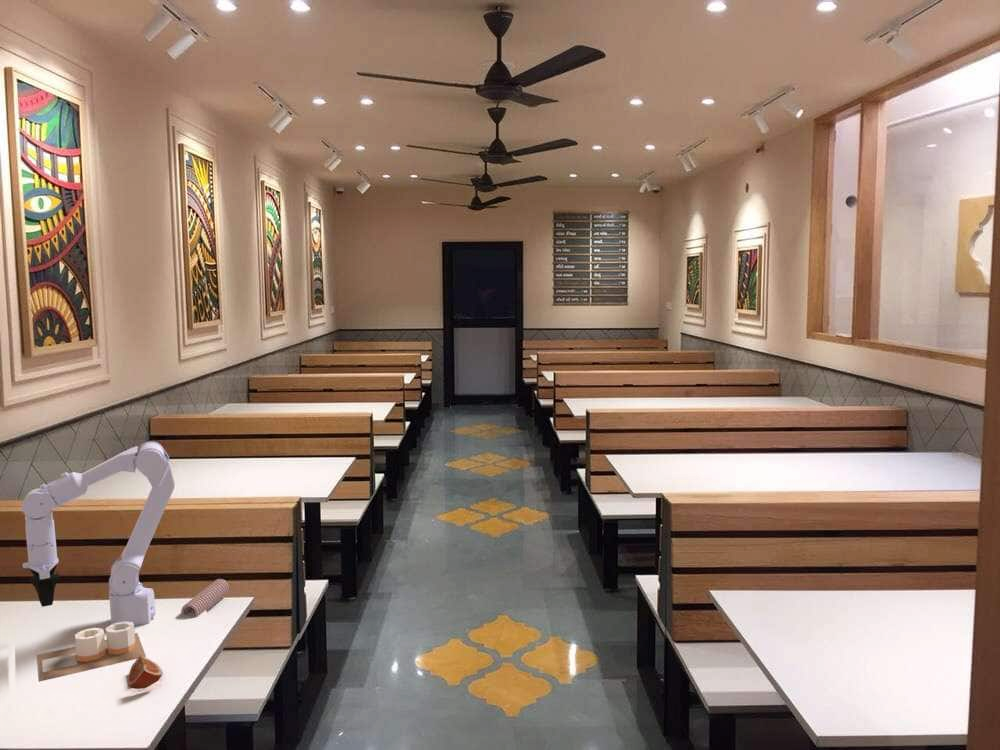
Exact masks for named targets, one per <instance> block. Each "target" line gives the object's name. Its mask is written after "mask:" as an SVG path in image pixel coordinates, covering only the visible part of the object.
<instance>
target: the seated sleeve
mask: <svg viewBox="0 0 1000 750" xmlns="http://www.w3.org/2000/svg"><path fill="white" fill-rule="evenodd" d="M135 629H136V628H135V625H134V624H133V622H125V621H124V622H119V623H114V624H110V625H109V626H106V627H105V635H106V640H107V650H108V653H109V654H115V655H119V654H123V653H127V652H130V651H131V650H133V649H134V648H136V642H135Z"/></svg>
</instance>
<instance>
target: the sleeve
mask: <svg viewBox="0 0 1000 750" xmlns="http://www.w3.org/2000/svg"><path fill="white" fill-rule="evenodd" d="M105 640H106V638H105V632H104V628H99V627H91V628H87V629H82V630H80V631H79V632H77V633H74V642H75V646H76V655H77V661H83V662H88V661H93V660H97V659H99V658H101V657H103V656H104V655H106V652H105Z"/></svg>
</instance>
